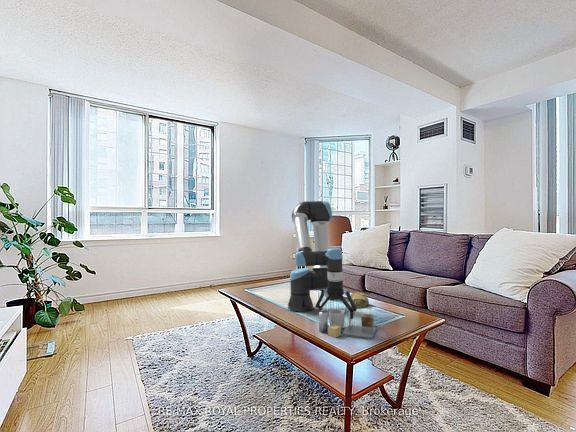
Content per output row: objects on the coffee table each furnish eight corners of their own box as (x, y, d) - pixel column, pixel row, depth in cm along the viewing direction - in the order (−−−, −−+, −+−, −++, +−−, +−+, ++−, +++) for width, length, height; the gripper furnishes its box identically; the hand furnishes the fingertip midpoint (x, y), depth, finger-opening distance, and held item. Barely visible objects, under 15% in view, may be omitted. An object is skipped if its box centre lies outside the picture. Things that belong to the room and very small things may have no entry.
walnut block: (361, 326, 146) (361, 316, 146) (363, 323, 151) (363, 313, 151) (372, 328, 144) (371, 317, 144) (373, 324, 149) (373, 314, 149)
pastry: (358, 301, 193) (358, 289, 194) (374, 305, 183) (374, 292, 183) (343, 305, 185) (342, 292, 186) (358, 309, 175) (358, 296, 175)
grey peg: (318, 332, 140) (317, 312, 140) (320, 329, 144) (320, 310, 144) (326, 333, 138) (326, 313, 139) (328, 330, 142) (328, 311, 142)
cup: (325, 323, 152) (325, 307, 152) (341, 322, 152) (340, 307, 153) (330, 331, 141) (330, 314, 141) (347, 330, 142) (346, 313, 142)
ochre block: (328, 335, 136) (328, 326, 136) (333, 333, 139) (333, 324, 139) (335, 337, 133) (335, 328, 133) (340, 335, 136) (340, 326, 136)
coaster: (342, 335, 135) (342, 333, 135) (348, 326, 147) (348, 324, 147) (372, 339, 130) (372, 337, 130) (376, 329, 142) (375, 327, 142)
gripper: (308, 280, 149) (309, 323, 148) (359, 283, 139) (360, 329, 138) (313, 277, 156) (314, 318, 155) (362, 280, 146) (363, 324, 145)
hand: (336, 323), depth 147 cm, fingers open, 13 cm apart
